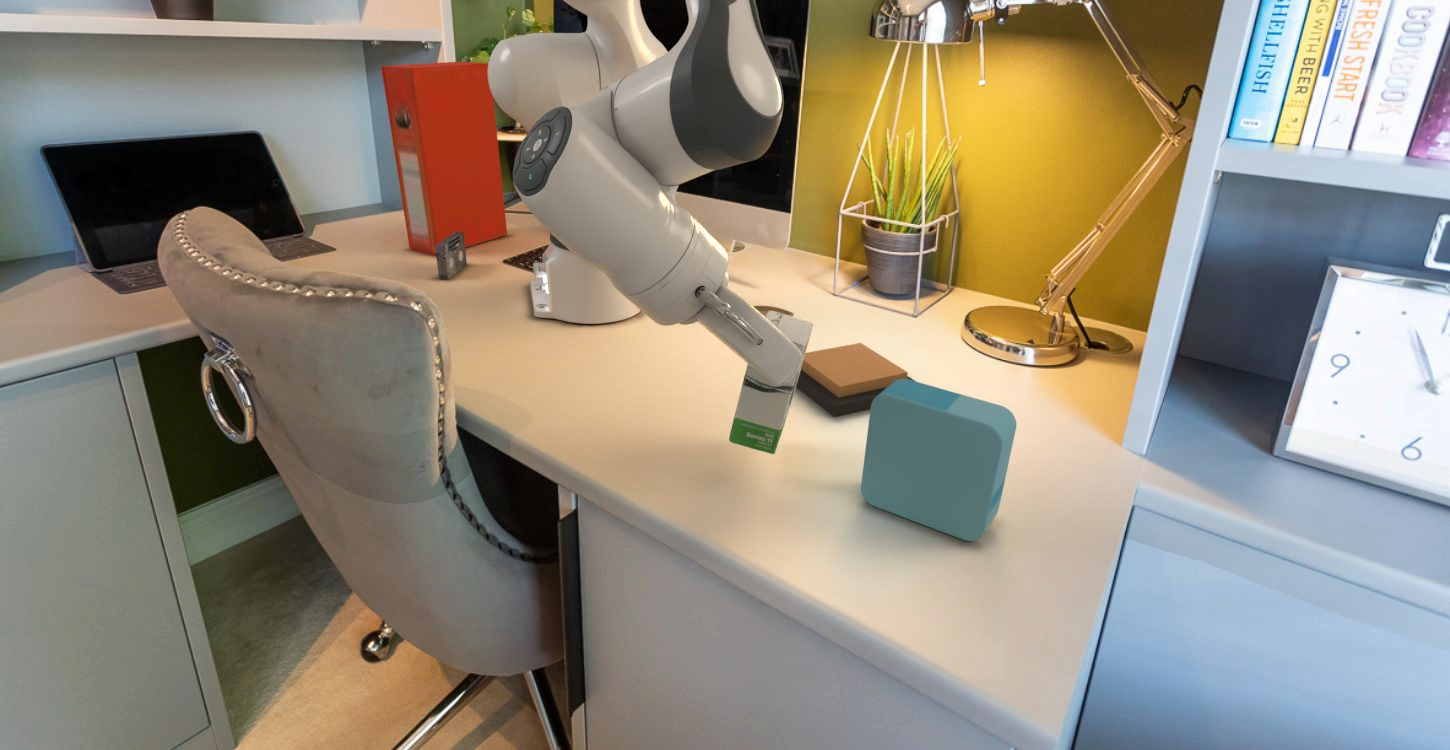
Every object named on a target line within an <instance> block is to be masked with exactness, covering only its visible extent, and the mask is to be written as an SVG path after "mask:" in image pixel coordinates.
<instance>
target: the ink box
mask: <svg viewBox="0 0 1450 750" xmlns="http://www.w3.org/2000/svg"><path fill="white" fill-rule="evenodd" d="M764 316H765V317H766V318H767V319H768V320H769V321H770V322H771V323H772V324H773V325H774V326H776V327H777V328H778V329H779V330H780V331H781V332H782V333H783V334H784V335H785V336H786V337H787V338H788V339H789V340H790V341H792V342H793V343H794V344H795V345H796V346H797V347H798V348H799V350H800V351H801V353H802V356H803V358H802V360H801V362H800V363H799V365H798V366H797V368H798V373H797V375H796V376H795V377H794V378H793V379H792V380H791V381H790V382H789V383H784V382H782V383H781V384H780V385H774V384H772V383H771V382H769V381H768V380H767V379H765V378H764V377H763V376H762V375H761V374H760V373H758V372H757V371H756V370H755V369H754V368H752V367H751V366H750V365H749V364H748V363H747V365H746V369H745V373H744V376H743V381H742V385H741V389H740V394H739V396H738V401H737V405H736V407H735V412H734V416H733V420H732V425H731V428H730V432H729V438H728V441H729V442H730V443H732V444H734V445H738V446H741V447H746V448H749V449H752V450H755V451H760V452H762V453H763V452H764V453H767V454H770V455H775V453H776V451H777V448H778V444H779V442H780V439H781V436H782V434H783V430H784V427H785V424H786V421H787V418H788V415H789V413H790V412H789V411H790V408H791V404H792V401H793V399H794V395H795V391H796V389H797V387H796V385H797V381H798V378H799V374H800V371H801V367H802V364H803V360H804V357H805V353H807V348H808V345H809V342H810V338H811V335H812V330H813V327H814V323H813V322H811V321H807V320H803V319H801V318H797V317H794V316H792V315H788V314H785V313H782V312H779V311H775V310H768V311H767V313H766V314H765V315H764Z"/></svg>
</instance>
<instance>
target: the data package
mask: <svg viewBox="0 0 1450 750" xmlns="http://www.w3.org/2000/svg"><path fill="white" fill-rule="evenodd" d="M915 381H916V380H915ZM915 381H912V380H908V379H898V380H896V381H894V382H893V383H892V384H891V385H889V386H888V387H887V388H886V389H885V390H884V391H882V392H881V393H880V394H879V395H878V396H877V397H876V398H875V399H874V400H873V401H872V404H871V409H869V417H868V426H867V436H866V443H865V449H864V452H865V453H864V459H863V465H862V474H861V475H862V476H861V483H860V493H861V495H862V497H863V498H864V500H865V501H866V502H867V503H868V504H869V505H870V506H872V507H874V508H877V509H880V510H883V511H886V512H888V513H891V514H892V515H893V514H894V515H896V516H899V517H901V518H904V519H907V520H910V521H912V522H915V523H917V524H920V525H923V526H925V527H928V528H931V529H934V530H936V531H938V532H941V533H944V534H947V535H949V536H952V537H954V538H957V539H960V540H963V541H966V542H975V541H978V540H980V539H981V538H982V537H984V535H985V533H986V532H987V530H988V528H989V527H990V525H991V524H992V522H993V521H994V519H995V517H996V516H997V515H998V512H999V509H1000V505H1001V500H1002V496H1003V490H1004V486H1005V482H1006V476H1007V472H1008V467H1009V463H1010V458H1011V454H1012V448H1013V445H1014V440H1015V436H1016V431H1017V419H1016V417H1015V415H1014V414H1013V413H1012V411H1011V410H1010V409H1008V408H1007V407H1005V406H1002V404H996V403H993V402H990V401H987V400H983V399H979V398H976V397H972V396H969V395H965V394H961V393H958V392H954V391H951V390H947V389H943V388H941V387H937V386H933V385H930V384H926V383H922V382H919V381H916V382H915Z"/></svg>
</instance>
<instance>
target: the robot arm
mask: <svg viewBox="0 0 1450 750" xmlns="http://www.w3.org/2000/svg"><path fill="white" fill-rule="evenodd" d="M563 2H564V3H566V4H567V5H569V6H570V7H571V8H573V9H574V10H577V11H578V12H580V13H581V14H583V15H585V16H587V26H586V29H585V31H584V32H580V33H579V32H568V33H567V32H532V33H526V34H522V35H516V36H512V37H508V38H504V39H501V40H500V41H498V43H497V44H496V45H495V47H494V48H493V50H492V52H491V54H490V57H489V59H488V63H489V64H488V83H489V87H490V91H491V93H492V95H493V100H494V101H495V103H496V104H497V106H498V107H499V108H500V109H501V110H502V111H503V112H504V113H505V114H506V115H507V116H508V117H510V118H512V119H513V120H514V121H516V122H517V123H518V124H520V125H521V127H522V128H524V129H525V130H526V132H527V134H526V135H525V136H524V138H523V140H522V141H521V143H520V145H519V147H518V149H517V152H516V155H515V157H514V162H513V169H512V183H513V186H514V188H515V191H516V192H517V194H518V196H519V198H520V199H521V201H522V203H523V204H524V206H526V208H527V209H528V211H529V212H530V213H531V214H532V215H533V216H534V217H535V218H536V220H537V222H539V223H540V224H541V226H543V227H544V228H545V229H546V230H547V231H548V232H549V241H550V243H549V244H548V246H547V247H546V249H545V250H544V252H543V253H542V255H541V259H542V260H541V262H533V263H532V270H533V278H534V279H532V280H531V281H530V283H529V289H530V296H531V297H530V298H531V303H532V310H533V316H534V317H535V318H536V317H537V318H542V319H555V320H559V321H562V322H568V323H574V324H590V325H593V324H594V325H596V324H597V325H598V324H608V323H614V322H619V321H620V322H621V321H624V320H627V319H629V318H632V317H634V316H636V315H637V314H639V313H640V312H642V313H643V314H645V315H646V316H647V317H648V318H649V319H651V320H652V321H653V322H654V323H655V324H657V325H660V326H665V327H667V326H674V325H679V324H680V325H685V326H686V325H693V324H695V323H699V324H700V325H701V326H702V327H704V328H705V330H707V331H708V332H709V333H710V334H712V335H713V336H714V337H715V338H717V339H718V340H719V341H720V342H721V343H723V344H724V345H725V346H726V347H727V348H728V349H730V350H731V351H732V352H733V353H734V354H735V355H737V356H738V357H739V358H740V359H742V360H743V361H744V362H745V363H746V364H747V365H748V364H749V365H750V366H751V367H752V368H754V369H755V370H756V371H757V372H758V373H760V374H761V375H762V376H763V377H764V378H765V379H767V380H768V381H769V382H771V383H772V384H774V385H780V384H781V383H782V382H784V383H789V382H790V381H791V380H792V379H793V378H794V377H795V376H796V375H797V373H798V368H797V366H798V365H799V363H800V362H801V360H802V358H803V356H802V353H801V351H800V350H799V348H798V347H797V346H796V345H795V344H794V343H793V342H792V341H790V340H789V339H788V338H787V337H786V336H785V335H784V334H783V333H782V332H781V331H780V330H779V329H778V328H777V327H776V326H774V325H773V324H772V323H771V322H770V321H769V320H768V319H767V318H766V317H765V316H766V315H764V314H763V313H761V311H759V310H758V309H757V308H756V307H754V306H753V305H752V304H751V303H750V302H748V301H747V300H745V299H744V298H742V297H741V296H740V295H738V294H737V293H736V292H734V291H733V290H731V289H730V288H728V286H729V281H730V280H729V273H728V265H729V256H728V252H727V250H726V248H725V247H724V246H723V245H722V243H720V242H719V241H718V240H717V239H716V238H715V237H714V235H712V234H711V233H710V232H709V231H708V230H707V228H705V227H704V226H703V225H702V223H700V222H699V220H697V218H696V217H695V216H694V215H692V214H691V213H690V211H688V210H687V209H686V208H684V207H683V206H681V205H680V204H678V202H677V200H676V193H677V190H678V188H679V186H680V185H682V184H684V183H687V182H689V181H692V180H694V179H696V178H698V177H701V176H703V175H706V174H708V173H712V172H714V171H716V170H724V169H726V168H730V167H734V166H737V165H741V164H744V163H749V162H752V161H756V160H758V159H760V158H761V157H762V156H764V155H765V153H766V152H767V151H768V150H769V149H770V147H771V145H772V144H773V141H774V139H775V137H776V135H777V132H778V129H779V127H780V124H781V120H782V117H783V112H784V105H785V98H784V90H783V85H782V81H781V78H780V75H779V72H778V69H777V67H776V64H775V61H774V59H773V56H772V54H771V52H770V50H769V47H768V44H767V42H766V40H765V39H766V38H765V36H764V33H763V29H762V25H761V20H760V17H759V11H758V7H757V4H756V0H685V5H686V11H687V16H688V23H687V26H686V29H685V31H684V33H683V34H682V35H681V37H680V38H679V40H678V41H677V43H676V44H675V45H674V46H673V47H672V48H671V49H670V50H669V51H668V50H667V48H666V47H665V46H664V44H663V43H662V42H661V41H660V40H659V39H657V38H656V36H655V35H654V34H653V32H652V31H651V29H649V27H648V25H647V23H646V20H645V17H644V14H643V12H642V7H641V0H563Z"/></svg>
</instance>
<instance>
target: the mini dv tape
mask: <svg viewBox="0 0 1450 750" xmlns="http://www.w3.org/2000/svg"><path fill="white" fill-rule="evenodd" d="M435 257H436V264H437V272H438V279H439V280H450V279H451V278H452V277H454V276H455V275H456V274H458V273H459V272H460V271H461V270H463V269H465V267H467V265H468V262H467V254H466V247H465V244H464V236H463V232H455V233H454V234H452V235H451V236H449V237H448V238H446V239H445V240H443V241H442V242H440V243H439V244H437V245H436V256H435Z"/></svg>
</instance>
